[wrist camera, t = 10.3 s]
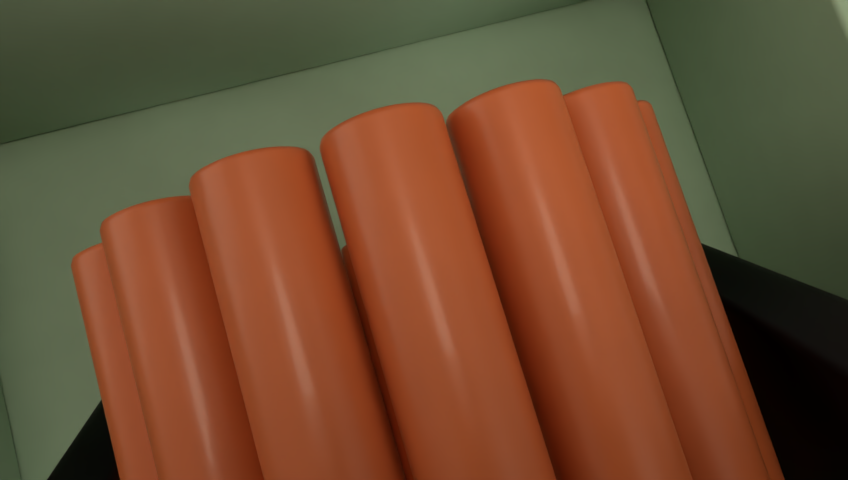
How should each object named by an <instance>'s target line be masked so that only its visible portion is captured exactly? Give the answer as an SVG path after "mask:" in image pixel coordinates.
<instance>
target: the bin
mask: <svg viewBox="0 0 848 480" xmlns="http://www.w3.org/2000/svg"><path fill="white" fill-rule="evenodd" d="M534 79H547V80H552V81H554V82H555V83H556V84H557V85H558V86H559V87H560V89H561V92H562V95H565V94H567V93H570V92H572V91H575V90H578V89H581V88H584V87H587V86H591V85H595V84H599V83H604V82H614V81H623V82H627V83H628V84H629V85H630V86H631V87H632V88H633V91H634V94H635V97H636V100H637V101H639V100H644V101H648V102H649V103H650V104H651V105H652V107H653V110H654V113H655V115H656V118H657V121H658V124H659V127H660V130H661V132H662V135H663V138H664V141H665V144H666V146H667V149H668V152H669V155H670V158H671V160H672V163H673V166H674V169H675V172H676V175H677V177H678V180H679V183H680V186H681V189H682V191H683V194H684V197H685V200H686V203H687V205H688V208H689V211H690V214H691V217H692V220H693V222H694V225H695V228H696V231H697V234H698V236H699V239H700V242H701V243H703V244H705V245H708V246H710V247H713V248H716V249H718V250H721V251H723V252H726V253H728V254H731V255H734V256H736V257H739V258H741V259H744V260H747V261H749V262H752V263H754V264H757V265H759V266H762V267H765V268H767V269H770V270H772V271H775V272H777V273H780V274H783V275H785V276H788V277H790V278H793V279H796V280H798V281H801V282H803V283H806V284H808V285H811V286H814V287H816V288H819V289H821V290H824V291H826V292H829V293H832V294H834V295H837V296H839V297H842V298H845V299H847V300H848V0H0V480H47V479H48V477H49V476H50V474H51V473H52V471H53V470H54V468H55V467H56V465H57V464H58V462H59V461H60V459H61V458H62V456H63V455H64V454H65V452H66V451H67V449H68V448H69V446H70V445H71V443H72V442H73V440H74V439H75V437H76V436H77V434H78V433H79V431H80V430H81V429H82V427H83V426H84V424H85V423H86V421H87V420H88V418H89V417H90V415H91V414H92V412H93V411H94V409H95V408H96V406H97V405H98V403H99V402H100V401H101V395H100V390H99V386H98V382H97V377H96V373H95V369H94V364H93V360H92V356H91V351H90V347H89V343H88V338H87V334H86V330H85V325H84V321H83V317H82V312H81V308H80V304H79V299H78V295H77V291H76V286H75V282H74V278H73V273H72V269H71V263H72V259H73V257H74V256H75V255H76V254H78V253H79V252H81V251H83V250H85V249H87V248H89V247H91V246H94V245H96V244H99V243H102V239H101V235H100V227H101V224H102V222H103V221H104V220H105V219H106V218H107V217H109V216H110V215H112V214H114V213H116V212H118V211H120V210H123V209H125V208H127V207H130V206H133V205H136V204H139V203H143V202H147V201H151V200H155V199H160V198H166V197H173V196H186V195H191V194H190V190H189V182H190V179H191V177H192V176H193V175H194V174H195V173H196V172H197V171H198V170H200V169H201V168H203V167H205V166H207V165H209V164H211V163H213V162H215V161H217V160H219V159H222V158H225V157H227V156H230V155H233V154H237V153H240V152H244V151H249V150H253V149H259V148H265V147H277V146H291V147H300V148H304V149H306V150H308V151H309V152H310V153H311V154H312V155H313V156H314V158H315V162H316V165H317V169H318V172H319V176H320V179H321V183H322V186H323V190H324V193H325V197H326V200H327V204H328V207H329V211H330V214H331V218H332V221H333V225H334V228H335V232H336V235H337V239H338V242H339V246H340V249H342V248H343V247H344V246H345V245H347V244H346V241H345V237H344V234H343V230H342V227H341V223H340V220H339V216H338V213H337V209H336V206H335V202H334V199H333V195H332V192H331V188H330V185H329V181H328V178H327V174H326V171H325V167H324V164H323V160H322V157H321V153H320V142H321V139H322V138H323V136H324V135H325V134H326V133H327V132H328V131H329V130H331V129H332V128H334V127H335V126H337V125H338V124H340V123H342V122H344V121H346V120H348V119H350V118H352V117H354V116H356V115H359V114H361V113H364V112H367V111H370V110H373V109H376V108H380V107H384V106H388V105H394V104H401V103H413V102H421V103H429V104H432V105H434V106H436V107H437V108H438V109H439V110H440V111H441V113H442V115H443V118H444V121H445V124H446V119H447V117H448V116H449V115H450V113H452V112H453V111H454V110H455V109H456V108H458V107H459V106H461V105H462V104H464V103H465V102H467V101H468V100H470V99H472V98H474V97H476V96H478V95H480V94H482V93H485V92H487V91H489V90H492V89H495V88H497V87H501V86H504V85H507V84H511V83H515V82H520V81H526V80H534Z"/></svg>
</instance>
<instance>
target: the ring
mask: <svg viewBox="0 0 848 480" xmlns="http://www.w3.org/2000/svg"><path fill="white" fill-rule="evenodd" d="M320 153H321V157H322V160H323V164H324V167H325V171H326V174H327V178H328V181H329V185H330V188H331V192H332V195H333V199H334V202H335V206H336V209H337V213H338V216H339V220H340V223H341V227H342V230H343V234H344V237H345V241H346V244H347V245H345V246H344V247H343V248H342V249H340V246H339V242H338V239H337V235H336V232H335V228H334V225H333V221H332V218H331V214H330V211H329V207H328V204H327V200H326V197H325V193H324V190H323V186H322V183H321V179H320V176H319V172H318V169H317V165H316V162H315V158H314V156H313V155H312V154H311V153H310V152H309V151H308V150H306V149H304V148H300V147H291V146H277V147H265V148H259V149H253V150H249V151H244V152H240V153H237V154H233V155H230V156H227V157H225V158H222V159H219V160H217V161H215V162H213V163H211V164H209V165H207V166H205V167H203V168H201V169H200V170H198V171H197V172H196V173H195V174H194V175H193V176H192V177H191V179H190V182H189V190H190V194H191V195H186V196H173V197H166V198H160V199H155V200H151V201H147V202H143V203H139V204H136V205H133V206H130V207H127V208H125V209H123V210H120V211H118V212H116V213H114V214H112V215H110V216H109V217H107V218H106V219H105V220H104V221H103V222H102V224H101V227H100V235H101V239H102V243H99V244H96V245H94V246H91V247H89V248H87V249H85V250H83V251H81V252H79V253H78V254H76V255H75V256H74V257H73V259H72V263H71V269H72V273H73V278H74V282H75V286H76V291H77V295H78V299H79V304H80V308H81V312H82V317H83V321H84V325H85V330H86V334H87V338H88V343H89V347H90V351H91V356H92V360H93V364H94V369H95V373H96V377H97V382H98V386H99V390H100V395H101V399H102V404H103V408H104V412H105V417H106V421H107V425H108V430H109V434H110V438H111V443H112V447H113V451H114V456H115V460H116V464H117V469H118V473H119V477H120V480H785V478H784V475H783V473H782V470H781V467H780V464H779V461H778V458H777V456H776V453H775V450H774V447H773V444H772V442H771V439H770V436H769V433H768V430H767V428H766V425H765V422H764V419H763V416H762V414H761V411H760V408H759V405H758V402H757V399H756V397H755V394H754V391H753V388H752V385H751V383H750V380H749V377H748V374H747V371H746V369H745V366H744V363H743V360H742V357H741V354H740V352H739V349H738V346H737V343H736V340H735V338H734V335H733V332H732V329H731V326H730V324H729V321H728V318H727V315H726V312H725V309H724V307H723V304H722V301H721V298H720V295H719V293H718V290H717V287H716V284H715V281H714V279H713V276H712V273H711V270H710V267H709V265H708V262H707V259H706V256H705V253H704V250H703V248H702V245H701V242H700V239H699V236H698V234H697V231H696V228H695V225H694V222H693V220H692V217H691V214H690V211H689V208H688V205H687V203H686V200H685V197H684V194H683V191H682V189H681V186H680V183H679V180H678V177H677V175H676V172H675V169H674V166H673V163H672V160H671V158H670V155H669V152H668V149H667V146H666V144H665V141H664V138H663V135H662V132H661V130H660V127H659V124H658V121H657V118H656V115H655V113H654V110H653V107H652V105H651V104H650V103H649V102H648V101H644V100H639V101H637V100H636V97H635V94H634V91H633V88H632V87H631V86H630V85H629V84H628V83H627V82H623V81H614V82H604V83H599V84H595V85H591V86H587V87H584V88H581V89H578V90H575V91H572V92H570V93H567V94H565V95H562V92H561V89H560V87H559V86H558V85H557V84H556V83H555V82H554V81H552V80H547V79H534V80H526V81H520V82H515V83H511V84H507V85H504V86H501V87H497V88H495V89H492V90H489V91H487V92H485V93H482V94H480V95H478V96H476V97H474V98H472V99H470V100H468V101H467V102H465V103H464V104H462V105H461V106H459V107H458V108H456V109H455V110H454V111H453V112H452V113H450V115H449V116H448V117H447V119H446V124H445V121H444V118H443V115H442V113H441V111H440V110H439V109H438V108H437V107H436V106H434V105H432V104H429V103H421V102H413V103H401V104H394V105H388V106H384V107H380V108H376V109H373V110H370V111H367V112H364V113H361V114H359V115H356V116H354V117H352V118H350V119H348V120H346V121H344V122H342V123H340V124H338V125H337V126H335V127H334V128H332V129H331V130H329V131H328V132H327V133H326V134H325V135H324V136H323V138H322V139H321V142H320Z"/></svg>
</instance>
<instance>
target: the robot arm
mask: <svg viewBox="0 0 848 480" xmlns="http://www.w3.org/2000/svg"><path fill="white" fill-rule="evenodd" d="M701 245H702V248H703V250H704V253H705V256H706V259H707V262H708V265H709V267H710V270H711V273H712V276H713V279H714V281H715V284H716V287H717V290H718V293H719V295H720V298H721V301H722V304H723V307H724V309H725V312H726V315H727V318H728V321H729V324H730V326H731V329H732V332H733V335H734V338H735V340H736V343H737V346H738V349H739V352H740V354H741V357H742V360H743V363H744V366H745V369H746V371H747V374H748V377H749V380H750V383H751V385H752V388H753V391H754V394H755V397H756V399H757V402H758V405H759V408H760V411H761V414H762V416H763V419H764V422H765V425H766V428H767V430H768V433H769V436H770V439H771V442H772V444H773V447H774V450H775V453H776V456H777V458H778V461H779V464H780V467H781V470H782V473H783V475H784V478H785V480H848V300H847V299H845V298H842V297H839V296H837V295H834V294H832V293H829V292H826V291H824V290H821V289H819V288H816V287H814V286H811V285H808V284H806V283H803V282H801V281H798V280H796V279H793V278H790V277H788V276H785V275H783V274H780V273H777V272H775V271H772V270H770V269H767V268H765V267H762V266H759V265H757V264H754V263H752V262H749V261H747V260H744V259H741V258H739V257H736V256H734V255H731V254H728V253H726V252H723V251H721V250H718V249H716V248H713V247H710V246H708V245H705V244H703V243H701ZM47 480H120V477H119V473H118V469H117V464H116V460H115V456H114V451H113V447H112V443H111V438H110V434H109V430H108V425H107V421H106V417H105V412H104V408H103V404H102V399H101V401H100V402H99V403H98V405H97V406H96V408H95V409H94V411H93V412H92V414H91V415H90V417H89V418H88V420H87V421H86V423H85V424H84V426H83V427H82V429H81V430H80V431H79V433H78V434H77V436H76V437H75V439H74V440H73V442H72V443H71V445H70V446H69V448H68V449H67V451H66V452H65V454H64V455H63V456H62V458H61V459H60V461H59V462H58V464H57V465H56V467H55V468H54V470H53V471H52V473H51V474H50V476H49V477H48V479H47Z"/></svg>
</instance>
